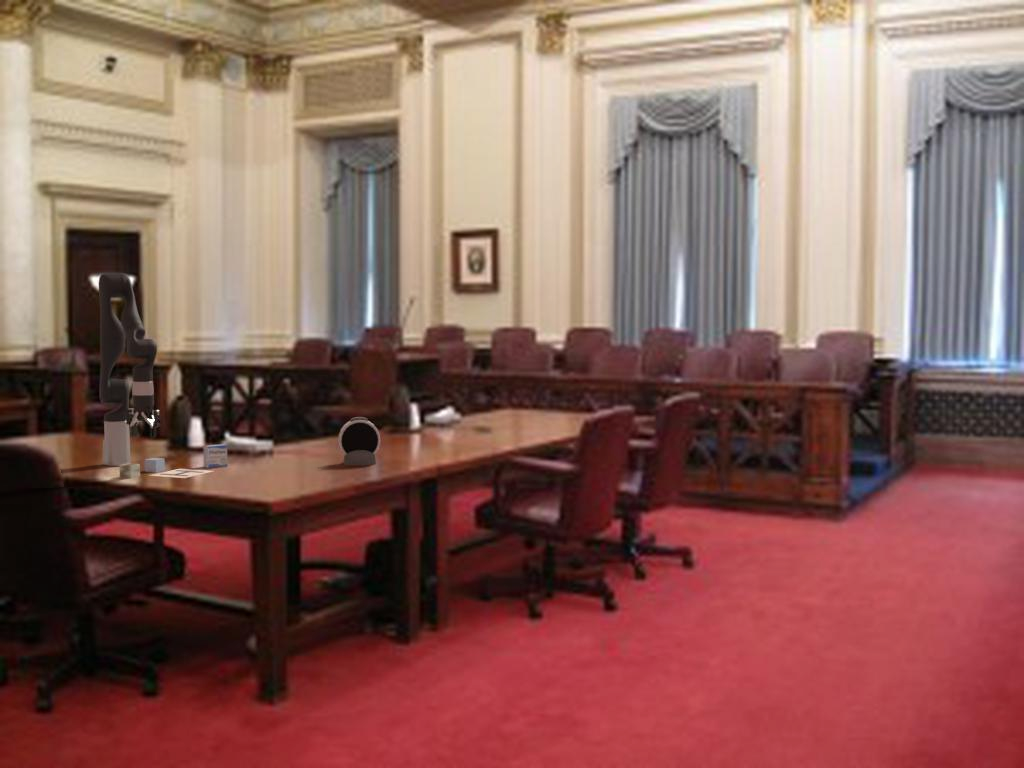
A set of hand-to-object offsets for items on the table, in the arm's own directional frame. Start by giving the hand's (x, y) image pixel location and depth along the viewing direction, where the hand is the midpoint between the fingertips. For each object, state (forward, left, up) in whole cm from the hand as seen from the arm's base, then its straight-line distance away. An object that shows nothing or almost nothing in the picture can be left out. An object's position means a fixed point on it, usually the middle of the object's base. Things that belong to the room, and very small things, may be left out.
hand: (144, 437), depth 430 cm
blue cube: (0, +5, -14) cm, 15 cm away
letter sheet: (+13, +4, -14) cm, 20 cm away
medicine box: (+14, +23, -14) cm, 31 cm away
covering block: (+1, -10, -14) cm, 17 cm away
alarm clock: (+60, +53, -14) cm, 82 cm away
